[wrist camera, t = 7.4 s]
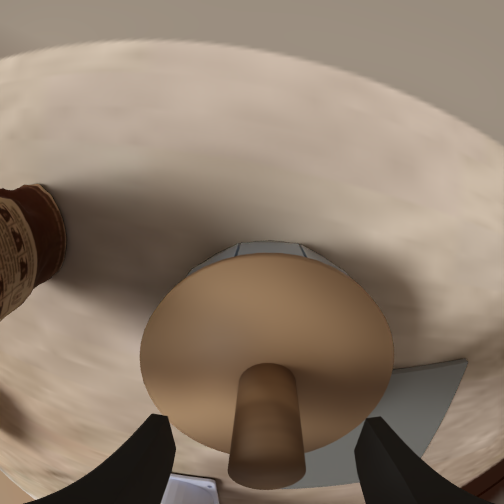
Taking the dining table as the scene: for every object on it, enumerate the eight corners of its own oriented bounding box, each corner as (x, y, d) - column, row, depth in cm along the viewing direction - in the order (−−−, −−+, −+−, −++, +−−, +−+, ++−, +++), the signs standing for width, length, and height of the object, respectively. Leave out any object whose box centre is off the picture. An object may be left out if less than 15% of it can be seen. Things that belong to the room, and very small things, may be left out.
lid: (368, 437, 15) (392, 511, 9) (173, 444, 15) (151, 518, 10) (401, 244, 12) (482, 296, 6) (122, 260, 12) (41, 318, 7)
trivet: (410, 467, 21) (411, 471, 20) (271, 485, 21) (271, 489, 21) (465, 358, 17) (468, 361, 17) (281, 375, 18) (282, 380, 17)
